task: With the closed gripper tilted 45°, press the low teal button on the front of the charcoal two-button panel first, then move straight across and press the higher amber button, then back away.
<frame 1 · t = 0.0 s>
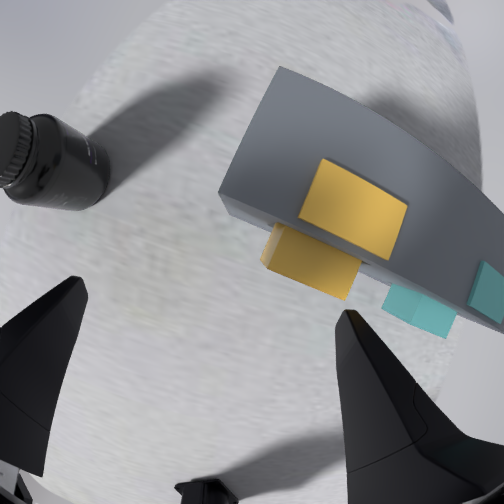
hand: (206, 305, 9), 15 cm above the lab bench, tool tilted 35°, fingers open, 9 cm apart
teal button: (423, 300, 17), point 8 cm above the lab bench, slide at 0.0 cm
amber button: (312, 246, 14), point 10 cm above the lab bench, slide at 0.0 cm
button panel: (345, 234, 24), on the lab bench
supplement bottle: (83, 176, 23), on the lab bench
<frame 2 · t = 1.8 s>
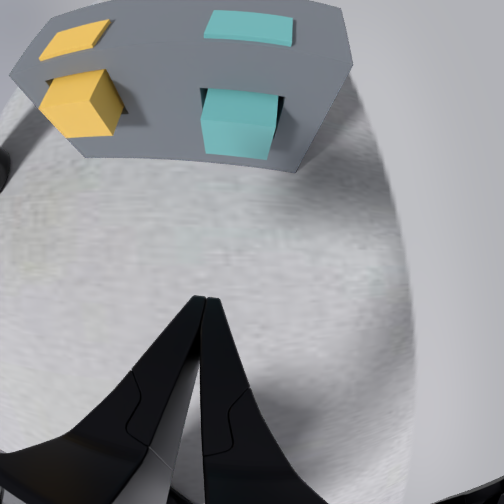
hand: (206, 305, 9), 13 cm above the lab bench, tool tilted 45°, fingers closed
teal button: (240, 117, 16), point 8 cm above the lab bench, slide at 0.0 cm
amber button: (85, 98, 13), point 10 cm above the lab bench, slide at 0.0 cm
button panel: (186, 136, 23), on the lab bench
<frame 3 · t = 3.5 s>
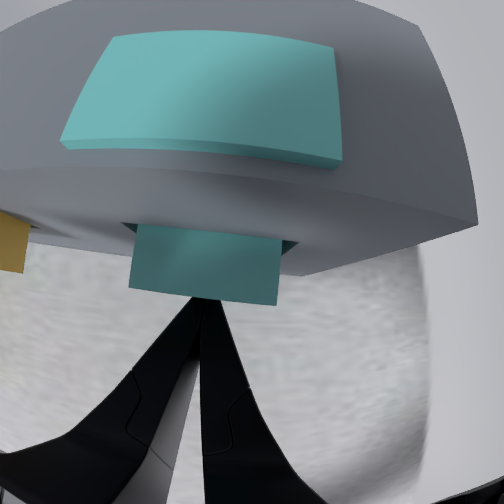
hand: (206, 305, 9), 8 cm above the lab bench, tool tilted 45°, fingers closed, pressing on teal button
teal button: (212, 243, 9), point 8 cm above the lab bench, slide at 0.3 cm, touching gripper
button panel: (147, 218, 17), on the lab bench
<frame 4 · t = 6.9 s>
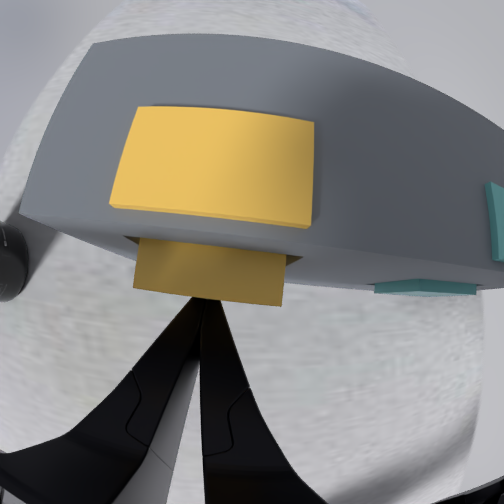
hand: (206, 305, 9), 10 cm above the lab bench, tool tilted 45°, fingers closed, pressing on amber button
teal button: (426, 258, 12), point 7 cm above the lab bench, slide at 1.5 cm
amber button: (217, 243, 9), point 9 cm above the lab bench, slide at 0.7 cm, touching gripper
button panel: (300, 247, 19), on the lab bench
supplement bottle: (8, 263, 18), on the lab bench
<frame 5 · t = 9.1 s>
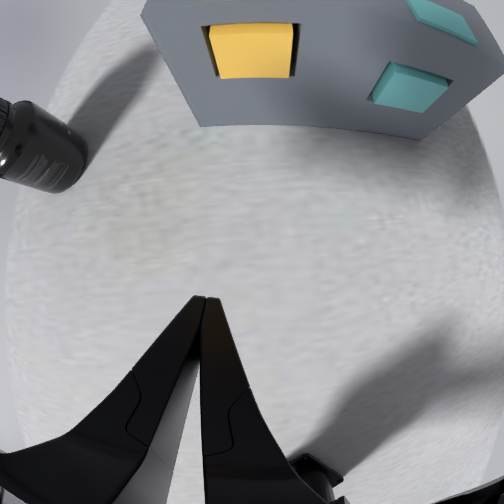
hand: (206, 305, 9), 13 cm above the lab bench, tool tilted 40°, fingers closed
teal button: (404, 74, 14), point 7 cm above the lab bench, slide at 1.5 cm
amber button: (253, 36, 12), point 10 cm above the lab bench, slide at 1.5 cm
button panel: (316, 102, 21), on the lab bench
supplement bottle: (65, 163, 23), on the lab bench
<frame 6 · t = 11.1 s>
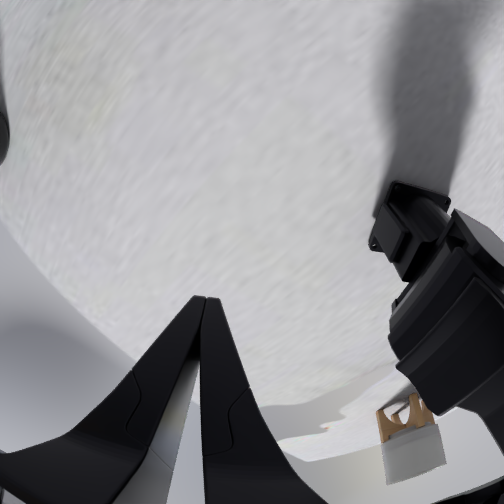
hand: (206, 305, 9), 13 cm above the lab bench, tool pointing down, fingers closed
planter: (402, 404, 48), on the lab bench
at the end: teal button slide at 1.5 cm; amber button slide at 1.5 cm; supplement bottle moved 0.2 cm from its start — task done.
